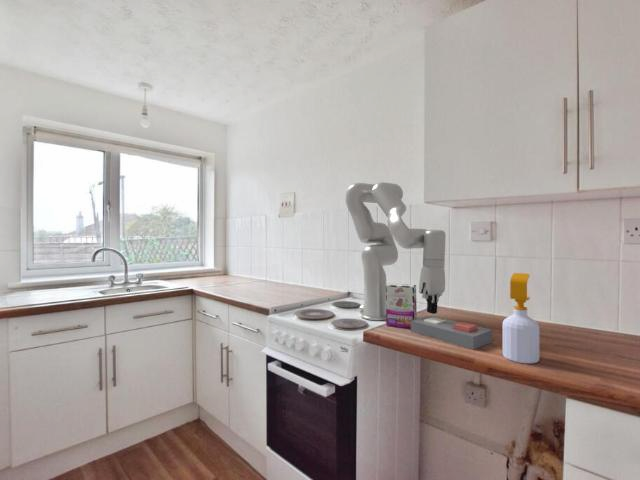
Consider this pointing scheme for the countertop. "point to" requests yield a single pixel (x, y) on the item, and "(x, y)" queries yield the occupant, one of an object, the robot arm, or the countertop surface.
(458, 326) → the brick-red key
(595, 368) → the countertop surface
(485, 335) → the key console
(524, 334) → the soap bottle
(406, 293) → the candy bar box
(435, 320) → the ivory key
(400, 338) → the countertop surface
